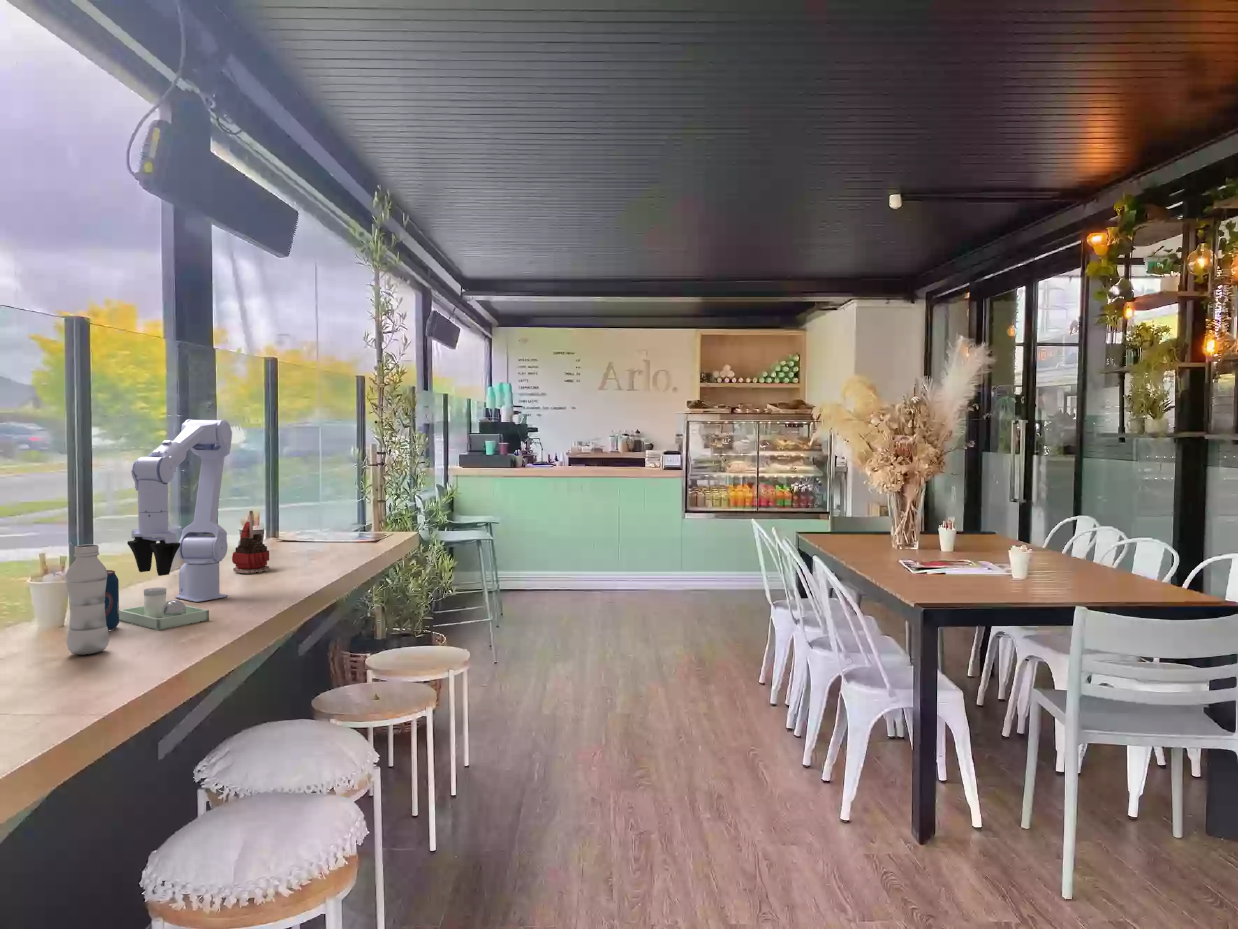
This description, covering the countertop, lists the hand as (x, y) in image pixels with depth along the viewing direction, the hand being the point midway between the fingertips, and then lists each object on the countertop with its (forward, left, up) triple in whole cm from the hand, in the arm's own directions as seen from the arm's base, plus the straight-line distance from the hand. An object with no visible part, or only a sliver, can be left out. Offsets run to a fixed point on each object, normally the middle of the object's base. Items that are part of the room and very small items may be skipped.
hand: (154, 573), depth 177 cm
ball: (+8, 0, -7) cm, 11 cm away
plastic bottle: (+18, -22, -10) cm, 30 cm away
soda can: (+1, -12, -10) cm, 16 cm away
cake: (-36, +47, -10) cm, 60 cm away
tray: (+3, 0, -10) cm, 11 cm away
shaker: (0, 0, -10) cm, 10 cm away
